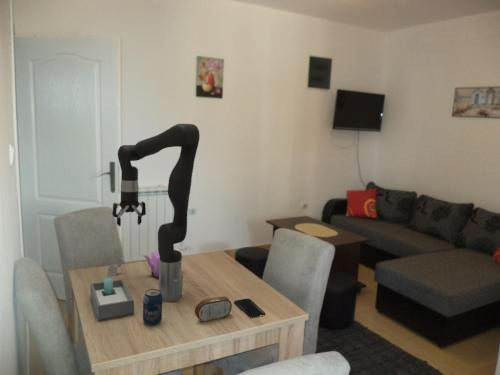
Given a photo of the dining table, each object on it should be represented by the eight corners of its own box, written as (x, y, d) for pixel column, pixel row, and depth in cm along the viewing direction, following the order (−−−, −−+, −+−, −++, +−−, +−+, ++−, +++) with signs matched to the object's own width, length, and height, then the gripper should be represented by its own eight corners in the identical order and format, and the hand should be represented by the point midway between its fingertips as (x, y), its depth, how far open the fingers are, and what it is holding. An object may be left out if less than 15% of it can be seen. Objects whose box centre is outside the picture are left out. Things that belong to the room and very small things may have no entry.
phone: (249, 298, 167) (266, 313, 154) (248, 300, 167) (266, 316, 154) (233, 301, 163) (249, 317, 150) (232, 303, 163) (248, 319, 150)
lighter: (108, 276, 182) (108, 260, 181) (107, 275, 184) (107, 259, 182) (123, 274, 186) (123, 258, 185) (122, 273, 187) (122, 257, 186)
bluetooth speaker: (228, 313, 153) (230, 294, 152) (232, 317, 151) (233, 297, 149) (194, 320, 146) (194, 300, 145) (197, 324, 143) (197, 303, 142)
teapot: (178, 268, 197) (179, 245, 195) (184, 276, 188) (185, 252, 186) (139, 273, 188) (139, 249, 186) (143, 281, 179) (144, 256, 177)
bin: (122, 292, 166) (122, 279, 165) (133, 314, 147) (133, 300, 147) (90, 297, 160) (90, 283, 159) (98, 321, 141) (98, 306, 140)
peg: (115, 296, 160) (114, 278, 159) (109, 300, 157) (109, 281, 155) (108, 294, 161) (107, 277, 160) (102, 298, 158) (101, 280, 156)
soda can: (144, 327, 139) (144, 297, 137) (141, 318, 145) (142, 289, 143) (163, 325, 141) (164, 294, 140) (159, 316, 148) (160, 287, 146)
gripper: (143, 188, 175) (142, 221, 178) (111, 188, 168) (111, 224, 171) (147, 190, 169) (147, 225, 171) (114, 191, 162) (114, 228, 164)
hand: (129, 225), depth 171 cm, fingers open, 8 cm apart
